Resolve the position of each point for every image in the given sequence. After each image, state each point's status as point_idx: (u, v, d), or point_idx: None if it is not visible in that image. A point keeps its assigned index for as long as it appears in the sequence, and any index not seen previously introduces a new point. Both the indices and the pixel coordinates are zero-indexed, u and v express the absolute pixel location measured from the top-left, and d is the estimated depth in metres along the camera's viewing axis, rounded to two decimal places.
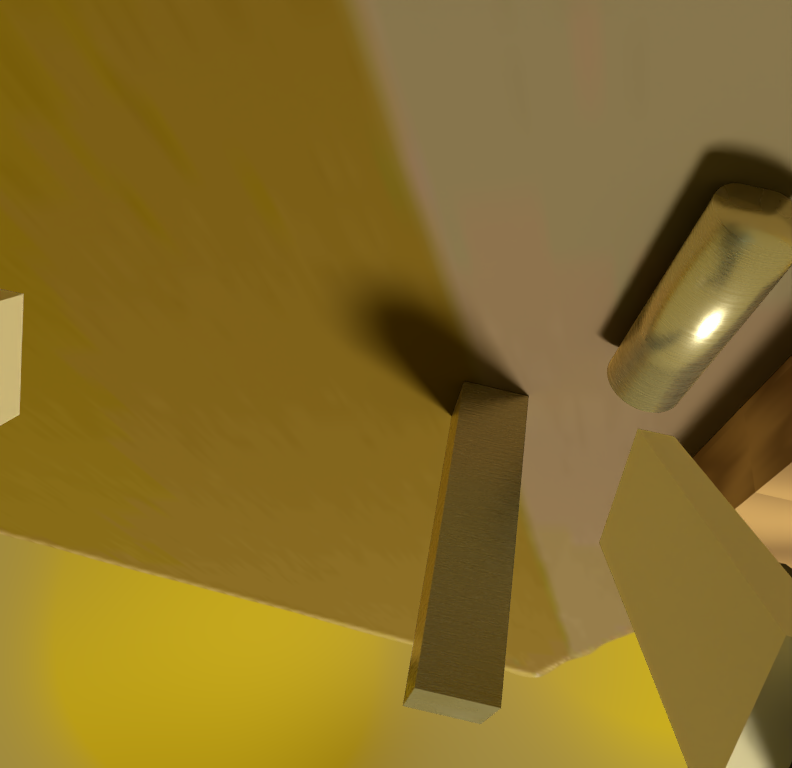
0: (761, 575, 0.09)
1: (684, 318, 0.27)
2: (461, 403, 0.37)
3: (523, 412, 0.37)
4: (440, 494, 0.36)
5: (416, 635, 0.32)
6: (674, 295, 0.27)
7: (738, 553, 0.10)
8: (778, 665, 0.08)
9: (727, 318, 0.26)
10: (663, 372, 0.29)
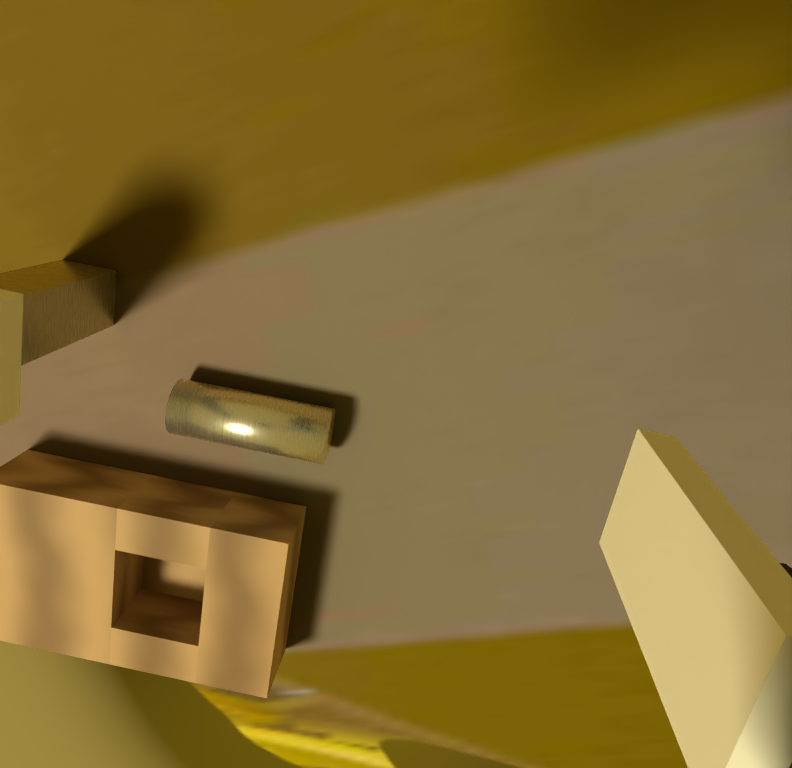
0: (761, 575, 0.09)
1: (260, 416, 0.42)
2: (104, 274, 0.42)
3: (105, 325, 0.44)
4: (23, 276, 0.38)
5: None
6: (272, 406, 0.43)
7: (738, 553, 0.10)
8: (777, 665, 0.08)
9: (267, 439, 0.42)
10: (210, 415, 0.42)
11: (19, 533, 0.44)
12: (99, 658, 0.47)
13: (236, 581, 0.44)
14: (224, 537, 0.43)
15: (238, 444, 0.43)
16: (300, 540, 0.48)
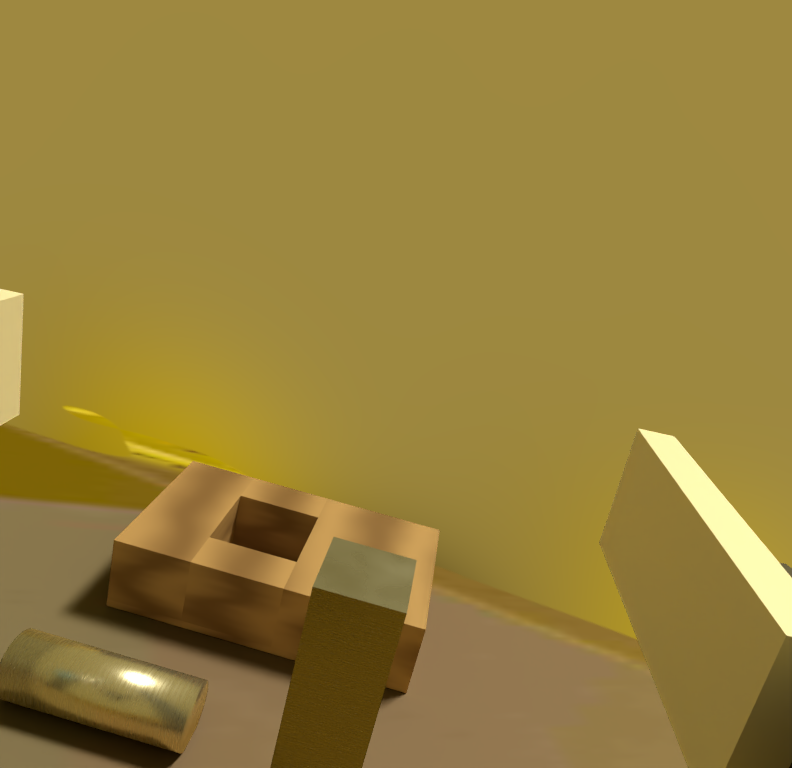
0: (760, 575, 0.09)
1: (70, 708, 0.35)
2: None
3: None
4: None
5: (366, 669, 0.26)
6: (61, 715, 0.35)
7: (737, 553, 0.10)
8: (777, 665, 0.08)
9: (66, 678, 0.35)
10: (130, 715, 0.35)
11: None
12: (335, 503, 0.53)
13: (183, 525, 0.46)
14: (179, 553, 0.43)
15: (110, 669, 0.36)
16: None
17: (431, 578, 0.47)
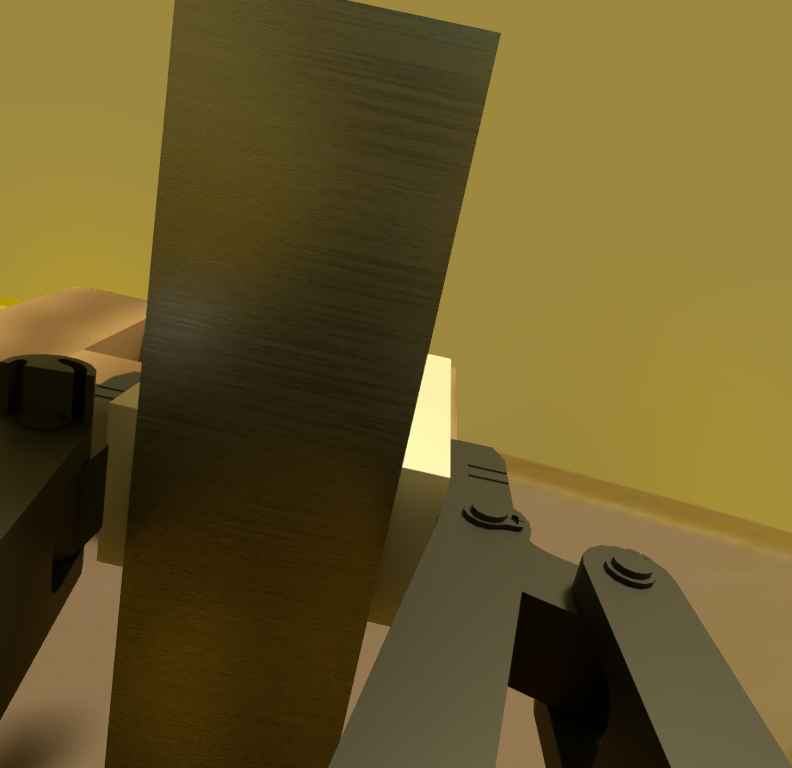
0: (422, 437, 0.11)
1: None
2: None
3: None
4: (265, 736, 0.11)
5: (372, 278, 0.08)
6: None
7: (418, 425, 0.12)
8: (398, 492, 0.10)
9: None
10: None
11: None
12: None
13: (39, 335, 0.27)
14: None
15: None
16: None
17: (454, 410, 0.29)
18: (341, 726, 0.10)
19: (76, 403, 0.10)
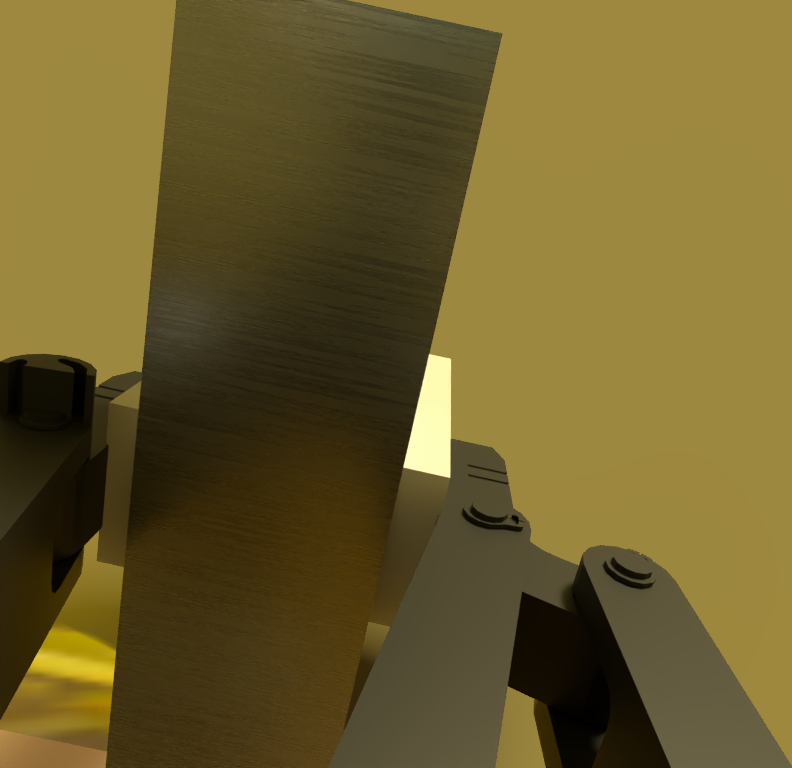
0: (422, 437, 0.11)
1: None
2: None
3: None
4: (266, 737, 0.11)
5: (373, 279, 0.08)
6: None
7: (418, 425, 0.12)
8: (399, 492, 0.10)
9: None
10: None
11: None
12: None
13: None
14: None
15: None
16: None
17: None
18: (342, 727, 0.10)
19: (76, 403, 0.10)
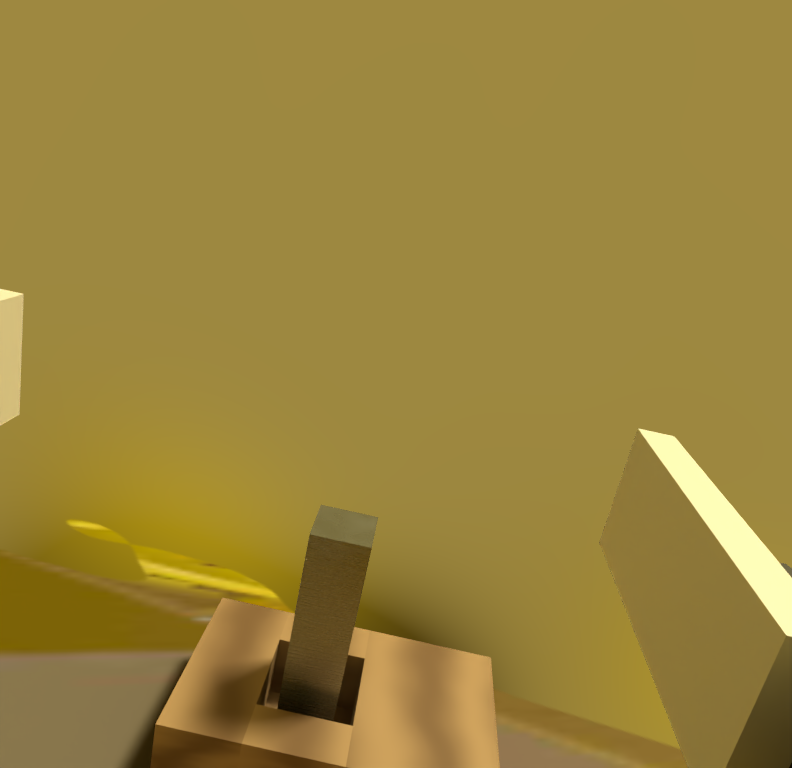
0: (761, 575, 0.09)
1: None
2: None
3: None
4: (322, 686, 0.42)
5: (347, 587, 0.40)
6: None
7: (738, 553, 0.10)
8: (778, 665, 0.08)
9: None
10: None
11: (456, 745, 0.42)
12: (378, 635, 0.50)
13: (225, 691, 0.42)
14: (228, 733, 0.39)
15: None
16: None
17: (495, 727, 0.44)
18: (341, 683, 0.42)
19: None
